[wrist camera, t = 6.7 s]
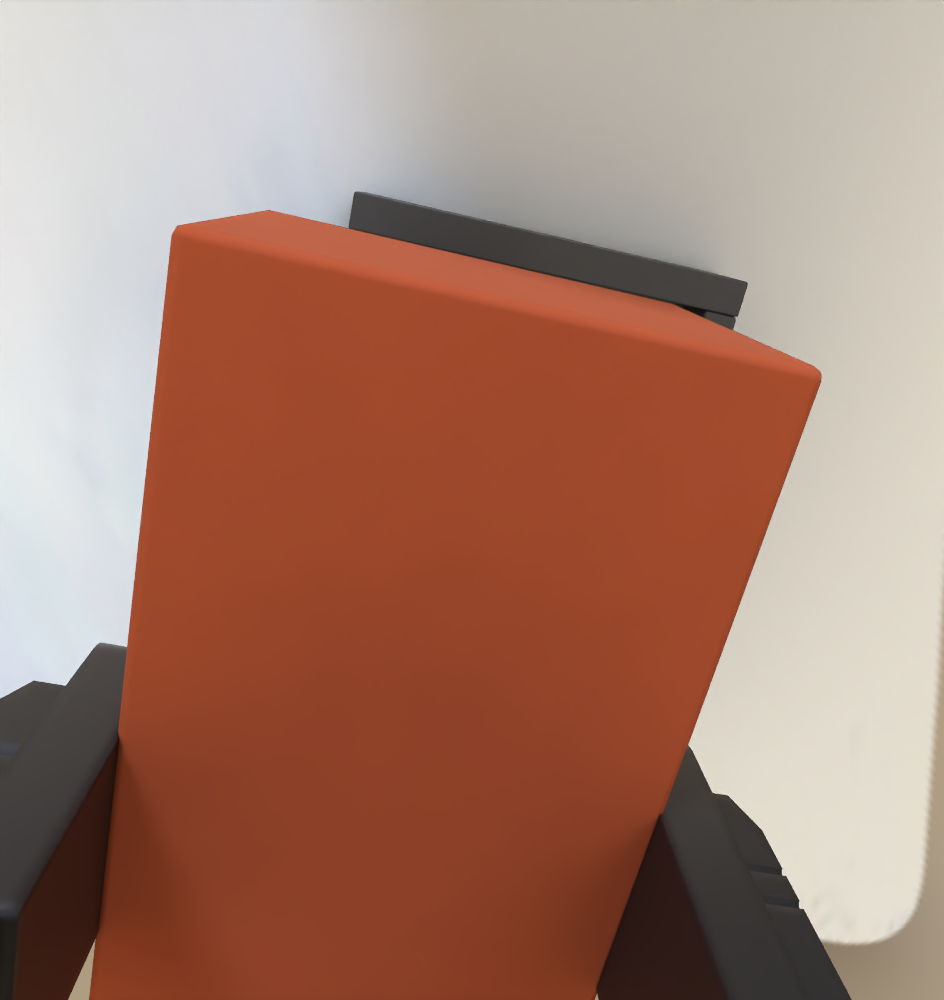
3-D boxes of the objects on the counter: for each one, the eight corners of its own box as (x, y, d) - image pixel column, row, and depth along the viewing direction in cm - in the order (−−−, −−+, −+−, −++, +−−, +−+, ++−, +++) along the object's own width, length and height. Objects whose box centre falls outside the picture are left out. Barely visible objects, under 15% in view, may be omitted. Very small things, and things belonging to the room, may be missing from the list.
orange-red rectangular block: (262, 207, 10) (169, 220, 6) (677, 304, 10) (831, 370, 7) (166, 892, 13) (66, 1183, 9) (488, 931, 14) (519, 1214, 10)
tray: (362, 192, 21) (354, 190, 18) (716, 273, 22) (749, 282, 20) (278, 688, 25) (264, 736, 23) (575, 736, 26) (589, 787, 24)
